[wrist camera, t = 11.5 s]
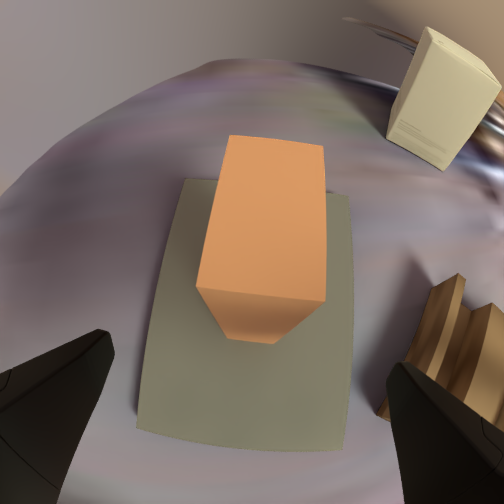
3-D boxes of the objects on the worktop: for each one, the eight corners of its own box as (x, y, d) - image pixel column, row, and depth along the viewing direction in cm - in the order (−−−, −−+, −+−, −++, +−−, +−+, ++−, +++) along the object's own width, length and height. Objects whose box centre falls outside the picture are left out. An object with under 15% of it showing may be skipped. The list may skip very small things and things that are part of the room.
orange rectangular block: (273, 344, 17) (325, 301, 6) (227, 338, 17) (195, 286, 6) (280, 272, 19) (322, 146, 8) (237, 267, 19) (230, 134, 8)
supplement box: (444, 174, 26) (504, 88, 13) (384, 139, 28) (430, 37, 14) (442, 136, 30) (485, 62, 16) (390, 107, 31) (424, 24, 17)
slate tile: (335, 444, 15) (342, 449, 14) (143, 424, 16) (136, 428, 14) (343, 205, 23) (348, 196, 22) (188, 188, 24) (185, 178, 22)
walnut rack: (476, 457, 13) (501, 461, 9) (375, 415, 16) (402, 422, 12) (514, 355, 17) (538, 349, 13) (431, 288, 20) (458, 273, 17)
